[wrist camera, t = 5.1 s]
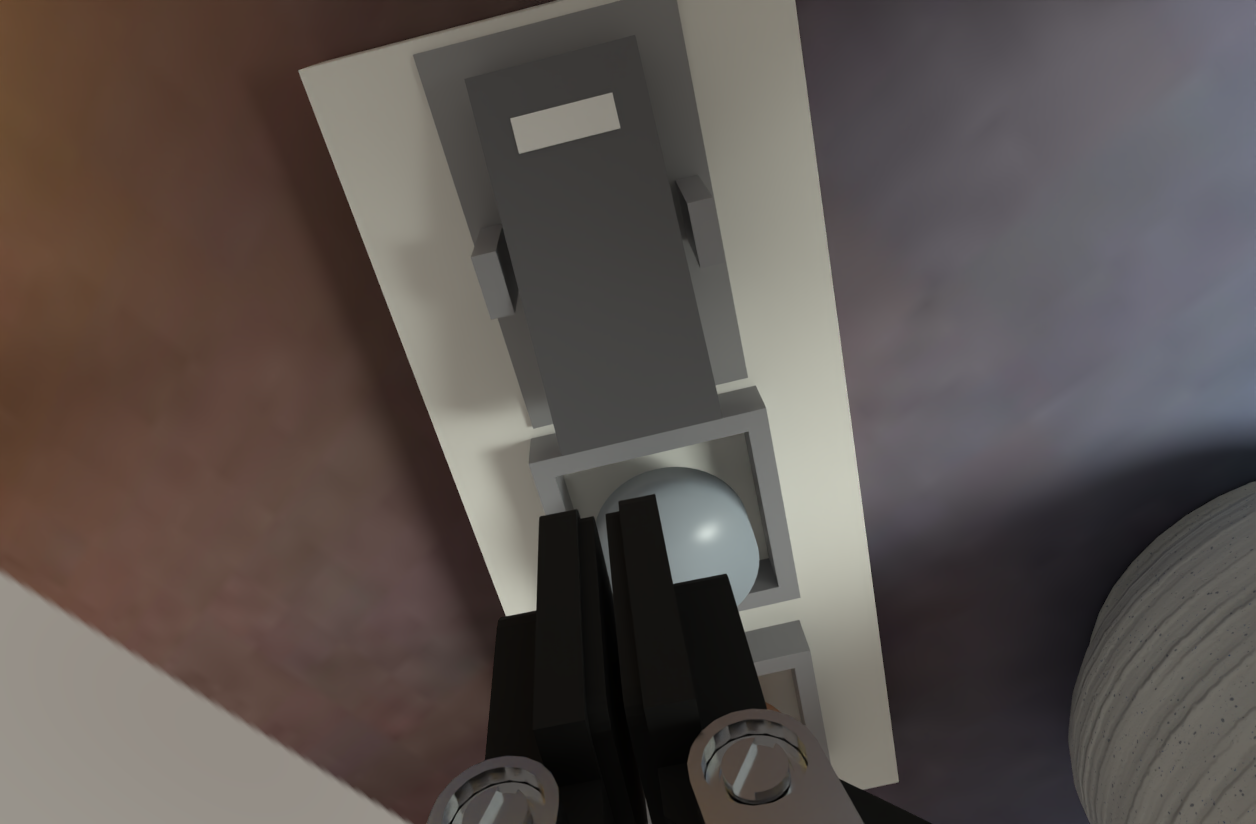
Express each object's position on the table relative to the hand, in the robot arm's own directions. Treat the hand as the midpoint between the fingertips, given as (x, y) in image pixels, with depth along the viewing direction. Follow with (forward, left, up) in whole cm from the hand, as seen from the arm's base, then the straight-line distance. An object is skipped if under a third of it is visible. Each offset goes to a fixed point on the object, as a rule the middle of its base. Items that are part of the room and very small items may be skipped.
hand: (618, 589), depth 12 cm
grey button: (0, +7, -11) cm, 14 cm away
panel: (0, +7, -15) cm, 17 cm away
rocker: (0, -2, -11) cm, 11 cm away
